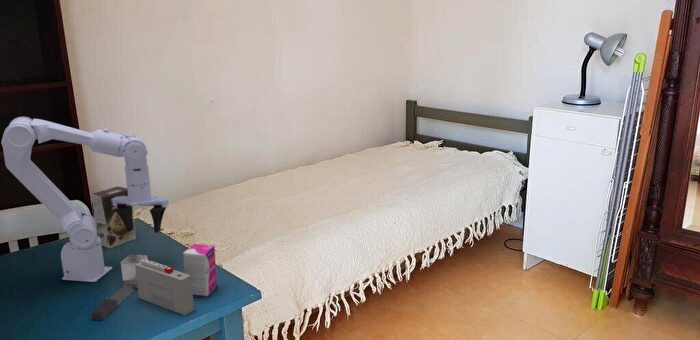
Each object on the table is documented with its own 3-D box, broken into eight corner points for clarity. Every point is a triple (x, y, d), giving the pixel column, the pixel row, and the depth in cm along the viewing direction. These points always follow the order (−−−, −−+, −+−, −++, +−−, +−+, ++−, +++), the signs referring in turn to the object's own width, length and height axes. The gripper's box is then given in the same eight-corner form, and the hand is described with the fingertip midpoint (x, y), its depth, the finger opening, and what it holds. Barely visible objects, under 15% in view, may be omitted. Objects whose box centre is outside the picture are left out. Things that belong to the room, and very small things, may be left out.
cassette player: (194, 310, 127) (190, 271, 124) (185, 315, 124) (181, 276, 122) (148, 293, 134) (143, 256, 131) (139, 298, 132) (134, 260, 129)
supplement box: (208, 298, 132) (204, 254, 129) (185, 295, 133) (181, 252, 130) (218, 286, 137) (214, 245, 134) (196, 284, 138) (192, 243, 135)
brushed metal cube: (123, 280, 137) (120, 261, 135) (132, 272, 141) (130, 254, 140) (140, 281, 136) (137, 263, 134) (149, 273, 140) (147, 255, 139)
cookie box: (110, 249, 159) (103, 197, 155) (97, 244, 163) (90, 193, 158) (137, 238, 167) (131, 188, 162) (124, 234, 170) (117, 185, 165)
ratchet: (132, 278, 142) (130, 263, 141) (153, 279, 141) (152, 264, 140) (85, 319, 123) (82, 302, 122) (109, 321, 122) (107, 304, 121)
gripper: (103, 186, 140) (110, 235, 144) (158, 188, 139) (163, 237, 142) (117, 178, 147) (123, 225, 150) (169, 179, 145) (174, 227, 149)
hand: (144, 230), depth 147 cm, fingers open, 7 cm apart
